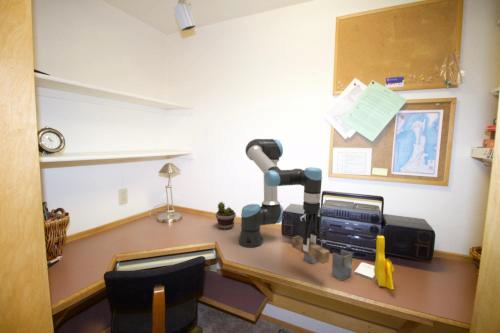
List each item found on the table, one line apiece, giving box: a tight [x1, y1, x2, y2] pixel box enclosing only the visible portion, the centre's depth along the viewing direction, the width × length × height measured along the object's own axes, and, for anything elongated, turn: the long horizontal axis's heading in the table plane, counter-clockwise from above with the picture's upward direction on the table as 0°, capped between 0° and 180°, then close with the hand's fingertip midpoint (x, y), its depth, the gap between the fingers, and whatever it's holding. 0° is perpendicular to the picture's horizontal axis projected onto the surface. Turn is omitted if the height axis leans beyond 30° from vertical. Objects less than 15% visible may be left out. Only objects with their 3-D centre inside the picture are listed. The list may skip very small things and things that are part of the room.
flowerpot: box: [215, 200, 237, 230], centre depth 171 cm, size 14×15×20 cm
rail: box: [291, 234, 330, 265], centre depth 111 cm, size 19×4×5 cm, turn 34°
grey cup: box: [331, 249, 354, 281], centre depth 111 cm, size 6×7×11 cm
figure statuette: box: [374, 235, 395, 290], centre depth 105 cm, size 18×8×22 cm, turn 161°
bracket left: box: [303, 237, 323, 265], centre depth 126 cm, size 6×7×11 cm
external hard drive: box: [353, 261, 376, 281], centre depth 116 cm, size 2×8×12 cm
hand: (309, 249), depth 111 cm, fingers closed on rail, 4 cm apart
